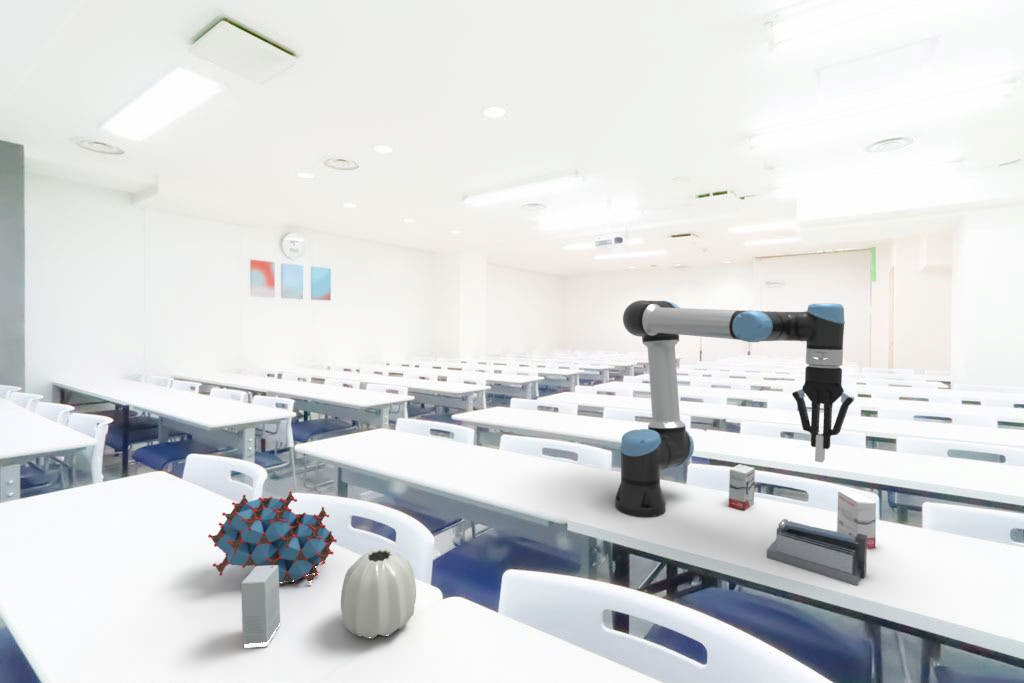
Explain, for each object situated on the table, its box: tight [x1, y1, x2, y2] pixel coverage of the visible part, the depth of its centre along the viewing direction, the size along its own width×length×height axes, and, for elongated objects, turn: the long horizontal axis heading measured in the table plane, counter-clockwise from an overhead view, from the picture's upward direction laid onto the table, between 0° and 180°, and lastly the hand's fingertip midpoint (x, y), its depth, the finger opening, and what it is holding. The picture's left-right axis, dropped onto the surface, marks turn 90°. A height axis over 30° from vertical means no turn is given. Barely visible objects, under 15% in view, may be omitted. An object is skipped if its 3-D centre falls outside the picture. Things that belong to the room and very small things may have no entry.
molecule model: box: [207, 490, 338, 583], centre depth 107 cm, size 16×14×25 cm
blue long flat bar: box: [777, 518, 855, 543], centre depth 113 cm, size 15×4×1 cm, turn 46°
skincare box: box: [240, 565, 281, 645], centre depth 86 cm, size 6×4×12 cm
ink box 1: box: [728, 464, 756, 511], centre depth 148 cm, size 8×5×12 cm, turn 134°
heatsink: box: [766, 520, 868, 586], centre depth 113 cm, size 19×12×9 cm, turn 46°
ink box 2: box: [836, 490, 877, 549], centre depth 124 cm, size 9×5×12 cm, turn 175°
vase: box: [340, 548, 417, 639], centre depth 90 cm, size 14×14×13 cm
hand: (819, 460), depth 117 cm, fingers closed
